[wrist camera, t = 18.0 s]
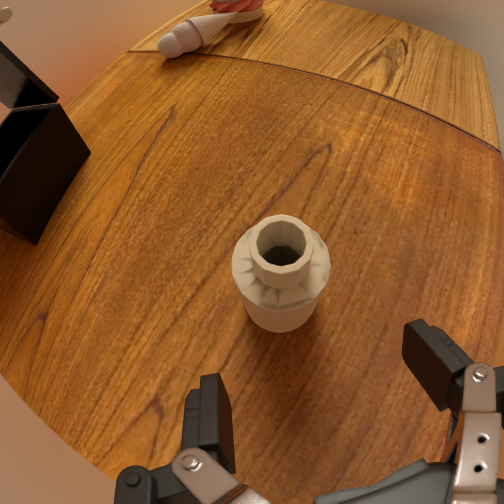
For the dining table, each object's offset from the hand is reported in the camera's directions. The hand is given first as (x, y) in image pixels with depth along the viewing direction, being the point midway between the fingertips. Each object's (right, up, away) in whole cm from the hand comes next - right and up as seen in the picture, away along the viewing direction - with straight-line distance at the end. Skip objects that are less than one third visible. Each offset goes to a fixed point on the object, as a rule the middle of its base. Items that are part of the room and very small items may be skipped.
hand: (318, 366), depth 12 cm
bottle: (-1, +1, +13) cm, 13 cm away
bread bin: (-31, +13, +20) cm, 39 cm away
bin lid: (-30, +24, +7) cm, 39 cm away
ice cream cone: (-11, +39, +31) cm, 51 cm away
